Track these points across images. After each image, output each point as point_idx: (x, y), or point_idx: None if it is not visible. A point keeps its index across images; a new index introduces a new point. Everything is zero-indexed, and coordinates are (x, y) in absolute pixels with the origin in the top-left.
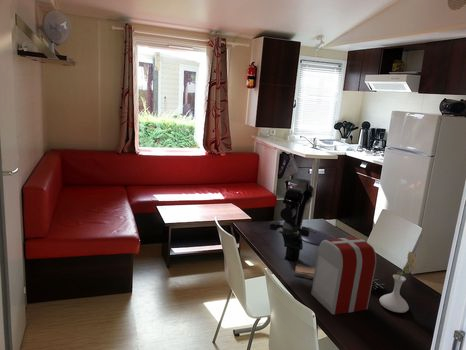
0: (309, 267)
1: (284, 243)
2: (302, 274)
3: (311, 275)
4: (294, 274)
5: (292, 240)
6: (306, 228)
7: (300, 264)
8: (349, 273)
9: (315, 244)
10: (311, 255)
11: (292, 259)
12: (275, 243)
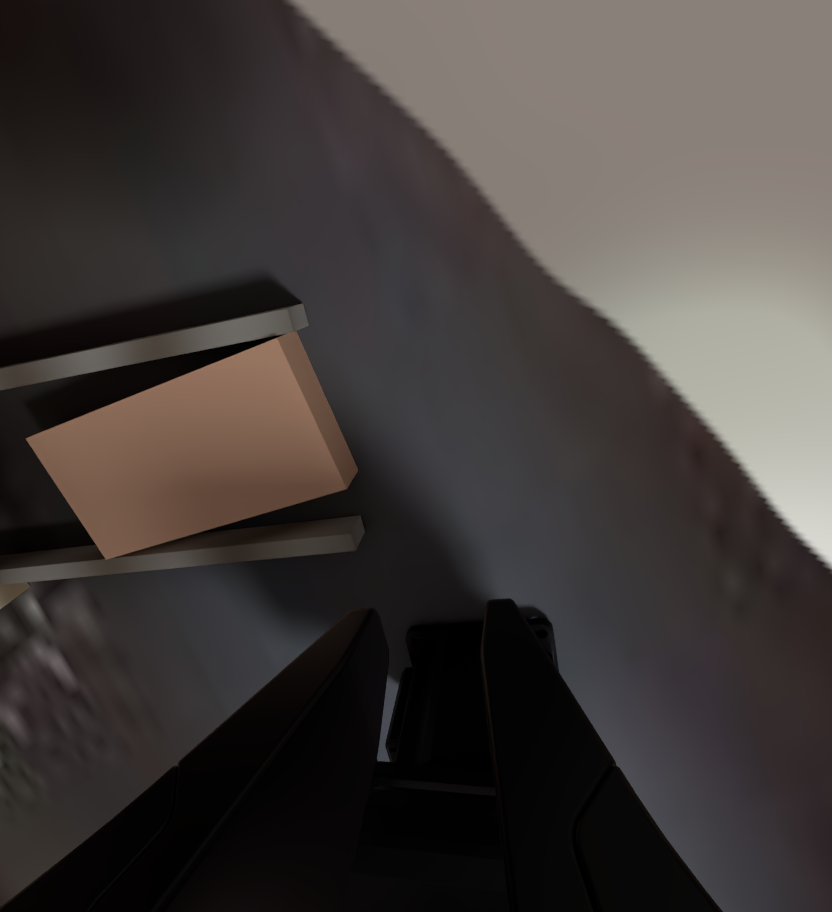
0: (216, 544)
1: (524, 622)
2: (193, 328)
3: (95, 358)
4: (296, 305)
5: (170, 771)
6: None
7: (318, 552)
8: None
9: None
10: None
11: (458, 639)
12: (752, 889)
